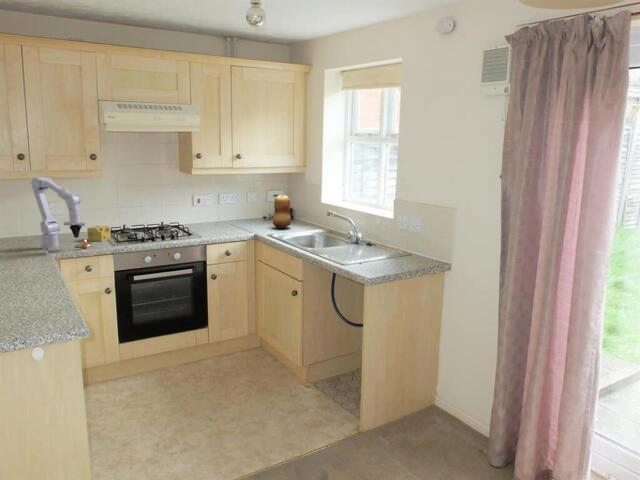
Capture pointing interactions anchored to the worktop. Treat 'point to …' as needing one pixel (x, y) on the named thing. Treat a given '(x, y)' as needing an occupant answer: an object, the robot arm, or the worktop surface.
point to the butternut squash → (282, 212)
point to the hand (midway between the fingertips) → (76, 237)
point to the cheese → (99, 233)
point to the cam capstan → (84, 244)
